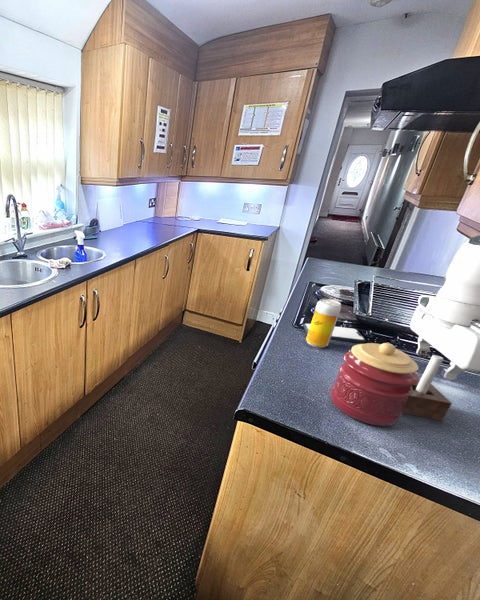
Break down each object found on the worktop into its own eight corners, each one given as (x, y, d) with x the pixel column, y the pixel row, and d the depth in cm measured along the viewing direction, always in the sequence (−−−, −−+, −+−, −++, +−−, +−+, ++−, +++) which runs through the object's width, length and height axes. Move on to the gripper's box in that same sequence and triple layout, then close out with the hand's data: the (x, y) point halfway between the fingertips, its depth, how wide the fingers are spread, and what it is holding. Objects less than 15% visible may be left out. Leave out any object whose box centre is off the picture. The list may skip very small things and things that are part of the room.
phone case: (308, 338, 111) (365, 345, 106) (309, 333, 110) (367, 340, 105) (301, 326, 119) (354, 332, 114) (302, 322, 118) (356, 328, 113)
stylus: (415, 405, 79) (440, 355, 74) (419, 409, 78) (445, 359, 73) (406, 403, 80) (430, 354, 75) (410, 408, 78) (435, 358, 73)
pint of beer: (305, 337, 110) (318, 296, 104) (327, 342, 107) (342, 300, 101) (304, 345, 106) (318, 303, 100) (327, 350, 103) (342, 307, 97)
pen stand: (422, 400, 81) (431, 383, 79) (442, 420, 75) (452, 403, 73) (385, 393, 83) (392, 377, 82) (401, 412, 77) (409, 395, 75)
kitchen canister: (326, 383, 86) (348, 324, 79) (390, 400, 80) (419, 338, 73) (331, 414, 76) (356, 350, 69) (405, 436, 70) (441, 368, 63)
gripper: (522, 335, 59) (486, 397, 65) (448, 296, 77) (425, 347, 82) (477, 330, 61) (445, 390, 67) (415, 293, 79) (394, 343, 84)
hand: (433, 366), depth 75 cm, fingers open, 8 cm apart
